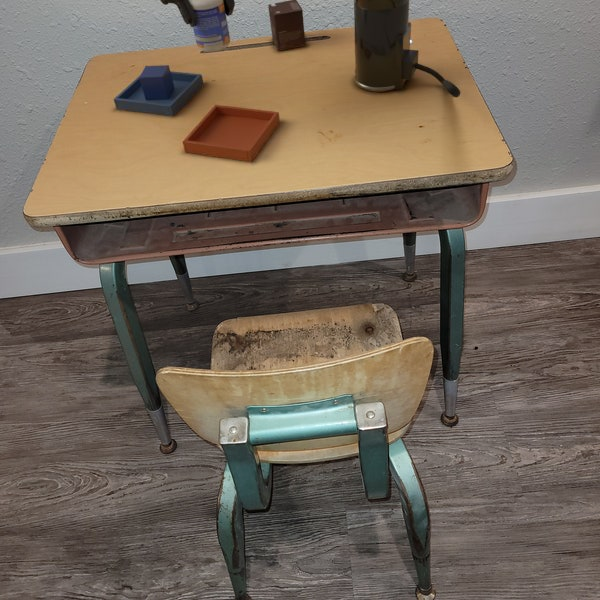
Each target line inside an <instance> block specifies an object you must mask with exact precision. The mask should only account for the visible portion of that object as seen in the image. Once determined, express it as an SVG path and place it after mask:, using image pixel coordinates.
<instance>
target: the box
mask: <svg viewBox="0 0 600 600" xmlns="http://www.w3.org/2000/svg"><path fill="white" fill-rule="evenodd" d="M267 7H268V14H269V23H270V30H271V39H272V42H273V43H274V46H275V47H276V49H277V51H284V50H289V49H295V48H298V47H299V48H300V47H304V46H306V34H305V25H304V24H305V23H304V12H303V11H304V9H303V8H302V6H301V5H300V4H299V2H298V0H285V1H280V2H275V3H270V4H268V5H267Z"/></svg>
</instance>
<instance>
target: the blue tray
mask: <svg viewBox="0 0 600 600" xmlns="http://www.w3.org/2000/svg"><path fill="white" fill-rule="evenodd" d="M170 72H171V76H172V80H173V84H174V90H173V92H172V94H171V96H170V98H169V99H167V100H146V99H145V96H144V92H143V89H142V86H141V82H140V79H139V77H140V75H139V76H137V77H136V78H135V79H134V80H133V81H132V82H131V83H129V84H128V86H126V87H125V88H124V89H123V90H122V91H121V92H120V93H118V94H117V95H116V96H115V97H114V98H113V99H112V100H113V102H114V105H115V108H116V110H120V111H121V110H122V111H129V112H137V113H145V114H151V115H152V114H153V115H161V116H168V117H175V115H176V114H177V113H178V112H179V111H180V110H181V109H182V108H183V107H184V106H185V105H186V104H187V102H188V101H189V100H190V99H191V98H192V97H193V96H194V95H195V94H196V93H197V92H198V91H199V90H200V89H201V88H202V87H203V85H204V79H203V75H202V74H201V73H190V72H182V71H181V72H180V71H173V70H172V71H171V70H170Z"/></svg>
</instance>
